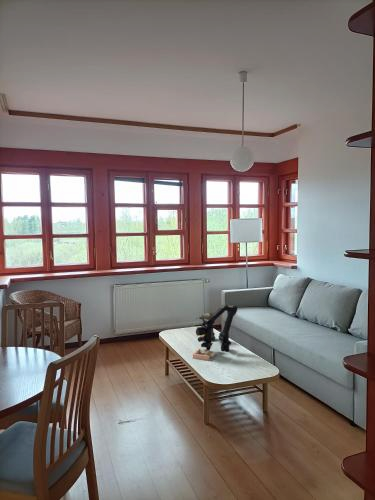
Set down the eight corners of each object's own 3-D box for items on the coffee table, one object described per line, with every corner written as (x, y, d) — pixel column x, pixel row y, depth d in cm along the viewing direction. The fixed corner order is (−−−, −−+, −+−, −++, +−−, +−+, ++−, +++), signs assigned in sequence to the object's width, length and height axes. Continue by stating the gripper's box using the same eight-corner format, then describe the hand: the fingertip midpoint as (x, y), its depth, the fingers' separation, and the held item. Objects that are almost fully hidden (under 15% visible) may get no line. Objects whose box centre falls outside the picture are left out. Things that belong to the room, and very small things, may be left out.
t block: (215, 355, 300) (215, 350, 300) (212, 359, 293) (212, 354, 292) (204, 353, 303) (204, 349, 303) (201, 357, 296) (201, 352, 296)
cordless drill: (193, 339, 340) (193, 313, 338) (213, 337, 347) (213, 311, 345) (196, 342, 332) (197, 315, 330) (217, 340, 339) (217, 313, 337)
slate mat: (219, 353, 306) (219, 352, 306) (212, 362, 288) (212, 361, 288) (199, 350, 312) (199, 350, 312) (191, 358, 294) (191, 358, 294)
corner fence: (214, 354, 303) (214, 350, 303) (208, 360, 290) (208, 356, 289) (198, 351, 308) (198, 348, 308) (192, 358, 295) (192, 354, 294)
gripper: (202, 329, 314) (202, 347, 316) (194, 336, 297) (194, 354, 298) (215, 330, 310) (215, 349, 311) (208, 337, 293) (207, 356, 294)
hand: (208, 352), depth 304 cm, fingers closed
